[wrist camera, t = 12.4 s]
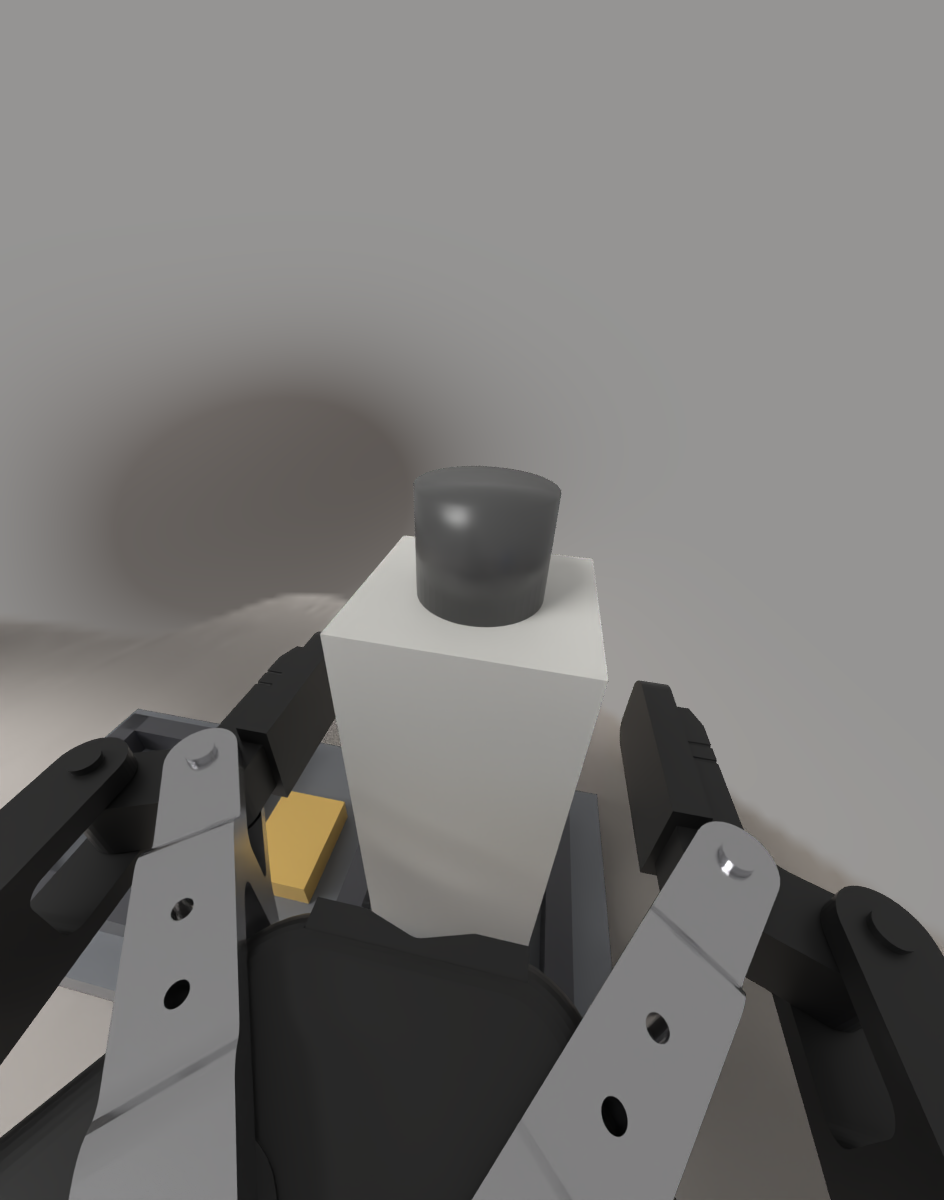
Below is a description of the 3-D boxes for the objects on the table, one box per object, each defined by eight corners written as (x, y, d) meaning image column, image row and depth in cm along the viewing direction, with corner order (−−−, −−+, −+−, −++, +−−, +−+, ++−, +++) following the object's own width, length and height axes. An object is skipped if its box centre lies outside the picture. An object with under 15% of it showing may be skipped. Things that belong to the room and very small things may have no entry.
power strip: (-81, 945, 13) (-143, 908, 12) (149, 729, 21) (128, 690, 19) (612, 1145, 11) (640, 1128, 9) (589, 814, 18) (603, 776, 17)
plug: (377, 941, 13) (297, 511, 5) (416, 818, 16) (399, 447, 9) (518, 979, 12) (647, 554, 5) (528, 843, 16) (613, 467, 8)
